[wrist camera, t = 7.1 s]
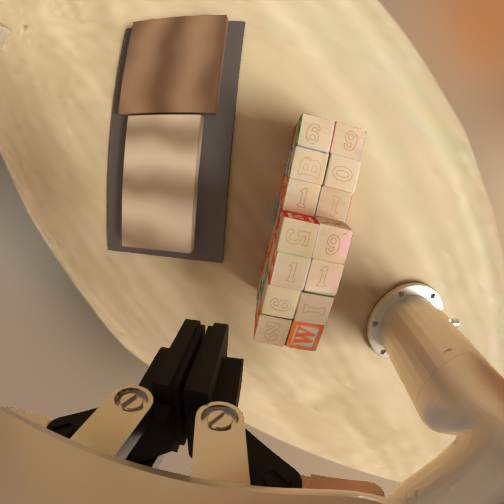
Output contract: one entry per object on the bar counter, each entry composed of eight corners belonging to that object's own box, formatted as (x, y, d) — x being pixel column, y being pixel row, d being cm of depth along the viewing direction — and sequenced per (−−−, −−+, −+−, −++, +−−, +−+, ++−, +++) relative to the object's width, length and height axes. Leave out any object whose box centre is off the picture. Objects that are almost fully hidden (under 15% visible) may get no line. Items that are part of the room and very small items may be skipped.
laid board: (228, 21, 29) (226, 15, 27) (217, 115, 33) (214, 112, 31) (139, 27, 29) (133, 22, 27) (125, 116, 33) (118, 114, 31)
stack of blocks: (294, 124, 33) (307, 105, 21) (344, 137, 33) (380, 127, 22) (256, 290, 39) (252, 342, 28) (303, 299, 40) (315, 353, 28)
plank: (134, 118, 33) (128, 115, 31) (204, 117, 33) (200, 114, 31) (128, 242, 37) (121, 245, 35) (194, 249, 37) (190, 253, 35)
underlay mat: (245, 23, 29) (244, 21, 29) (222, 261, 38) (222, 262, 38) (127, 30, 30) (126, 28, 29) (109, 248, 39) (108, 249, 38)
